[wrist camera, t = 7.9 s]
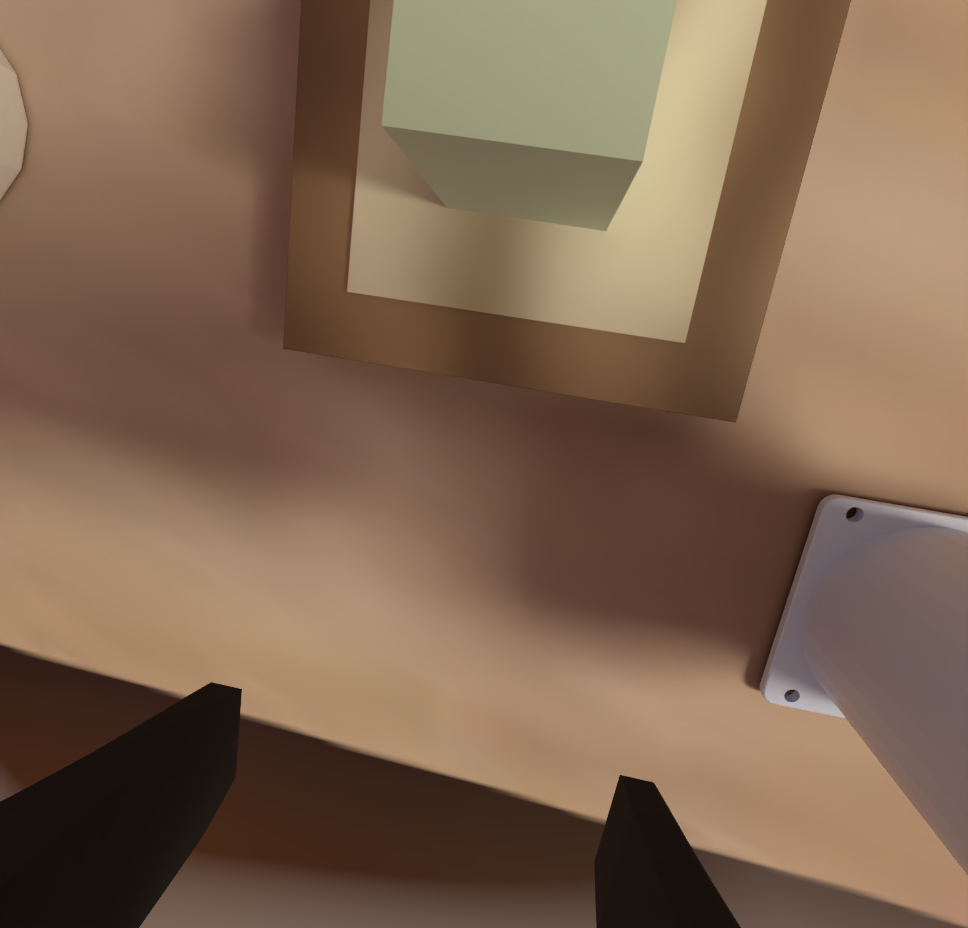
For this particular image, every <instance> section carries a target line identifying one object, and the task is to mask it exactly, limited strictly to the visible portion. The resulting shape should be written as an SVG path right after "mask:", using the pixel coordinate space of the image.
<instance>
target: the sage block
mask: <svg viewBox="0 0 968 928" xmlns="http://www.w3.org/2000/svg"><path fill="white" fill-rule="evenodd" d="M676 3H677V0H394V4H393V14H392V24H391V34H390V45H389V55H388V65H387V75H386V85H385V95H384V105H383V116H382V127H383V128H384V129H385V131H386V132H387V133H388V134H389V136H390V137H391V138H392V139H393V141H394V142H395V143H396V144H397V146H398V147H399V148H400V149H401V151H402V152H403V153H404V154H405V156H406V157H407V158H408V159H409V161H410V162H411V163H412V164H413V166H414V167H415V168H416V169H417V171H418V172H419V173H420V174H421V176H422V177H423V178H424V179H425V181H426V182H427V183H428V184H429V186H430V187H431V188H432V189H433V191H434V192H435V193H436V194H437V196H438V197H439V198H440V199H441V201H442V202H443V203H444V204H445V206H446V207H447V208H452V209H459V210H465V211H472V212H479V213H486V214H492V215H499V216H506V217H513V218H519V219H526V220H533V221H539V222H546V223H553V224H560V225H566V226H573V227H580V228H587V229H593V230H600V231H606V230H607V229H608V227H609V225H610V223H611V221H612V219H613V217H614V215H615V213H616V211H617V210H618V208H619V206H620V204H621V202H622V200H623V198H624V196H625V194H626V192H627V191H628V189H629V187H630V185H631V183H632V181H633V179H634V177H635V175H636V173H637V172H638V170H639V168H640V166H641V164H642V162H643V158H644V154H645V149H646V144H647V139H648V135H649V130H650V125H651V121H652V116H653V111H654V107H655V102H656V97H657V92H658V88H659V83H660V78H661V74H662V69H663V64H664V60H665V55H666V50H667V46H668V41H669V36H670V31H671V27H672V22H673V17H674V13H675V8H676Z"/></svg>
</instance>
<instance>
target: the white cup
mask: <svg viewBox="0 0 968 928" xmlns="http://www.w3.org/2000/svg"><path fill="white" fill-rule="evenodd" d="M27 129H28V121H27V117H26V112H25V108H24V104H23V99H22V95H21V90H20V86H19V82H18V77H17V74H16V72H15V71H14V69H13V68H12V66H11V65H10V63H9V61H8V60H7V58H6V57H5V55H4V54H3V52H2V50H1V49H0V200H1V199H2V197H3V196H4V194H5V193H6V191H7V190H8V188H9V187H10V186H11V184H12V183H13V181H14V180H15V178H16V177H17V175H18V174H19V172H20V171H21V169H22V164H23V157H24V150H25V144H26V136H27Z"/></svg>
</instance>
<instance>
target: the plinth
mask: <svg viewBox="0 0 968 928" xmlns="http://www.w3.org/2000/svg"><path fill="white" fill-rule="evenodd" d="M850 2H851V0H677V3H676V8H675V13H674V17H673V22H672V27H671V31H670V36H669V41H668V46H667V50H666V55H665V60H664V64H663V69H662V74H661V78H660V83H659V88H658V92H657V97H656V102H655V107H654V111H653V116H652V121H651V125H650V130H649V135H648V139H647V144H646V149H645V154H644V158H643V162H642V164H641V166H640V168H639V170H638V172H637V173H636V175H635V177H634V179H633V181H632V183H631V185H630V187H629V189H628V191H627V192H626V194H625V196H624V198H623V200H622V202H621V204H620V206H619V208H618V210H617V211H616V213H615V215H614V217H613V219H612V221H611V223H610V225H609V227H608V229H607V230H606V231H600V230H593V229H587V228H580V227H573V226H566V225H560V224H553V223H546V222H539V221H533V220H526V219H519V218H513V217H506V216H499V215H492V214H486V213H479V212H472V211H465V210H459V209H452V208H447V207H446V206H445V204H444V203H443V202H442V201H441V199H440V198H439V197H438V196H437V194H436V193H435V192H434V191H433V189H432V188H431V187H430V186H429V184H428V183H427V182H426V181H425V179H424V178H423V177H422V176H421V174H420V173H419V172H418V171H417V169H416V168H415V167H414V166H413V164H412V163H411V162H410V161H409V159H408V158H407V157H406V156H405V154H404V153H403V152H402V151H401V149H400V148H399V147H398V146H397V144H396V143H395V142H394V141H393V139H392V138H391V137H390V136H389V134H388V133H387V132H386V131H385V129H384V128H383V127H382V116H383V105H384V95H385V85H386V75H387V65H388V55H389V45H390V34H391V24H392V14H393V4H394V0H302V1H301V20H300V39H299V58H298V78H297V97H296V116H295V135H294V154H293V174H292V193H291V212H290V231H289V250H288V269H287V289H286V308H285V327H284V346H283V349H288V350H294V351H301V352H307V353H313V354H319V355H325V356H331V357H337V358H344V359H350V360H356V361H362V362H368V363H374V364H380V365H387V366H393V367H399V368H405V369H411V370H417V371H423V372H430V373H436V374H442V375H448V376H454V377H460V378H466V379H472V380H479V381H485V382H491V383H497V384H503V385H509V386H515V387H522V388H528V389H534V390H540V391H546V392H552V393H558V394H565V395H571V396H577V397H583V398H589V399H595V400H601V401H608V402H614V403H620V404H626V405H632V406H638V407H644V408H650V409H657V410H663V411H669V412H675V413H681V414H687V415H693V416H700V417H706V418H712V419H718V420H724V421H730V422H736V420H737V416H738V413H739V409H740V405H741V402H742V398H743V394H744V391H745V387H746V383H747V380H748V376H749V372H750V369H751V365H752V361H753V358H754V354H755V350H756V347H757V343H758V339H759V336H760V332H761V328H762V325H763V321H764V317H765V314H766V310H767V306H768V303H769V299H770V295H771V292H772V288H773V284H774V281H775V277H776V273H777V270H778V266H779V262H780V259H781V255H782V251H783V248H784V244H785V240H786V237H787V233H788V229H789V226H790V222H791V218H792V215H793V211H794V207H795V204H796V200H797V196H798V193H799V189H800V186H801V182H802V178H803V175H804V171H805V167H806V164H807V160H808V156H809V153H810V149H811V145H812V142H813V138H814V134H815V131H816V127H817V123H818V120H819V116H820V112H821V109H822V105H823V101H824V98H825V94H826V90H827V87H828V83H829V79H830V76H831V72H832V68H833V65H834V61H835V57H836V54H837V50H838V46H839V43H840V39H841V35H842V32H843V28H844V24H845V21H846V17H847V13H848V10H849V6H850Z"/></svg>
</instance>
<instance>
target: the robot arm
mask: <svg viewBox="0 0 968 928" xmlns="http://www.w3.org/2000/svg"><path fill="white" fill-rule="evenodd" d="M852 507H856V508H857V511H856V514H855V515H854V516H853V517H851V518H846V513H847V511H848V510H849V509H851V508H852ZM759 689H760V691H761V693H762V695H763V697H764V698H765V699H766V700H767V701H768V702H770V703H773V704H777V705H782V706H786V707H791V708H796V709H801V710H806V711H811V712H816V713H821V714H826V715H830V716H835V717H840V718H845V719H847V720H848V721H849V723H850V724H851V725H852V727H853V728H854V729H855V730H856V732H857V733H858V734H859V736H860V737H861V738H862V739H863V741H864V742H865V743H866V745H867V746H868V747H869V749H870V750H871V751H872V752H873V754H874V755H875V756H876V758H877V759H878V760H879V761H880V763H881V764H882V765H883V767H884V768H885V769H886V770H887V772H888V773H889V774H890V776H891V777H892V778H893V779H894V781H895V782H896V783H897V785H898V786H899V787H900V788H901V790H902V791H903V792H904V794H905V795H906V796H907V798H908V799H909V800H910V801H911V803H912V804H913V805H914V807H915V808H916V809H917V810H918V812H919V813H920V814H921V816H922V817H923V818H924V819H925V821H926V822H927V823H928V825H929V826H930V827H931V828H932V830H933V831H934V832H935V834H936V835H937V836H938V837H939V839H940V840H941V841H942V843H943V844H944V845H945V847H946V848H947V849H948V850H949V852H950V853H951V854H952V856H953V857H954V858H955V859H956V861H957V862H958V863H959V865H960V866H961V867H962V868H963V870H964V871H965V872H966V874H967V875H968V517H966V516H960V515H954V514H949V513H943V512H937V511H931V510H925V509H919V508H914V507H908V506H902V505H896V504H890V503H884V502H879V501H873V500H867V499H861V498H855V497H849V496H844V495H829V496H827V497H825V498H824V499H822V500H821V501H820V503H819V505H818V507H817V510H816V513H815V516H814V520H813V523H812V526H811V529H810V532H809V535H808V538H807V541H806V544H805V547H804V550H803V553H802V556H801V559H800V562H799V566H798V569H797V572H796V575H795V578H794V581H793V584H792V587H791V590H790V593H789V596H788V599H787V602H786V605H785V608H784V612H783V615H782V618H781V621H780V624H779V627H778V630H777V633H776V636H775V639H774V642H773V645H772V648H771V651H770V654H769V658H768V661H767V664H766V667H765V670H764V673H763V676H762V679H761V682H760V688H759ZM788 690H795V691H794V692H793V693H792V694H790V695H784V694H785V693H786V691H788ZM241 692H242V689H238V688H234V687H230V686H225V685H221V684H216V683H212V682H211V683H209V684H208V685H206V686H204V687H202V688H201V689H199V690H197V691H195V692H194V693H192V694H190V695H189V696H187V697H185V698H184V699H182V700H180V701H179V702H177V703H175V704H174V705H172V706H170V707H169V708H167V709H166V710H164V711H162V712H160V713H159V714H157V715H155V716H154V717H152V718H150V719H149V720H147V721H145V722H144V723H142V724H140V725H139V726H137V727H135V728H133V729H132V730H130V731H128V732H127V733H125V734H123V735H121V736H120V737H118V738H116V739H115V740H113V741H111V742H109V743H108V744H106V745H104V746H103V747H101V748H99V749H97V750H96V751H94V752H92V753H90V754H89V755H87V756H85V757H83V758H81V759H80V760H78V761H76V762H74V763H72V764H70V765H68V766H66V767H65V768H63V769H61V770H59V771H57V772H55V773H54V774H52V775H50V776H48V777H46V778H44V779H42V780H40V781H39V782H37V783H35V784H33V785H31V786H29V787H28V788H26V789H24V790H22V791H20V792H18V793H16V794H14V795H13V796H11V797H9V798H7V799H5V800H3V801H1V802H0V928H139V927H140V925H141V924H142V923H143V921H144V920H145V918H146V917H147V915H148V914H149V913H150V911H151V910H152V908H153V907H154V905H155V904H156V903H157V901H158V900H159V898H160V897H161V895H162V894H163V893H164V891H165V890H166V888H167V887H168V885H169V884H170V883H171V881H172V880H173V878H174V877H175V875H176V874H177V873H178V871H179V870H180V868H181V867H182V865H183V864H184V862H185V861H186V859H187V858H188V857H189V855H190V854H191V852H192V851H193V849H194V848H195V846H196V845H197V844H198V842H199V841H200V839H201V837H202V836H203V835H204V833H205V831H206V829H207V828H208V826H209V824H210V822H211V821H212V819H213V817H214V815H215V814H216V812H217V810H218V808H219V807H220V805H221V803H222V801H223V799H224V797H225V796H226V794H227V792H228V790H229V788H230V786H231V785H232V783H233V781H234V779H235V777H236V765H237V751H238V737H239V722H240V707H241ZM595 895H596V896H595V899H596V920H597V921H596V922H597V928H741V927H740V926H739V924H738V923H737V921H736V919H735V918H734V916H733V915H732V913H731V911H730V910H729V908H728V907H727V905H726V903H725V902H724V900H723V899H722V897H721V895H720V894H719V892H718V891H717V889H716V887H715V886H714V884H713V883H712V881H711V879H710V878H709V876H708V874H707V873H706V871H705V869H704V868H703V866H702V864H701V863H700V861H699V859H698V858H697V856H696V854H695V853H694V851H693V849H692V847H691V846H690V844H689V842H688V841H687V839H686V837H685V835H684V834H683V832H682V830H681V829H680V827H679V825H678V823H677V822H676V820H675V818H674V816H673V815H672V813H671V811H670V809H669V808H668V806H667V804H666V802H665V801H664V799H663V797H662V796H661V794H660V792H659V790H658V789H657V787H656V786H655V784H654V783H653V782H649V781H644V780H640V779H636V778H631V777H627V776H622V775H620V777H619V780H618V783H617V787H616V790H615V794H614V797H613V800H612V804H611V807H610V811H609V814H608V817H607V821H606V824H605V828H604V831H603V835H602V838H601V841H600V845H599V848H598V851H597V855H596V858H595Z"/></svg>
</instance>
